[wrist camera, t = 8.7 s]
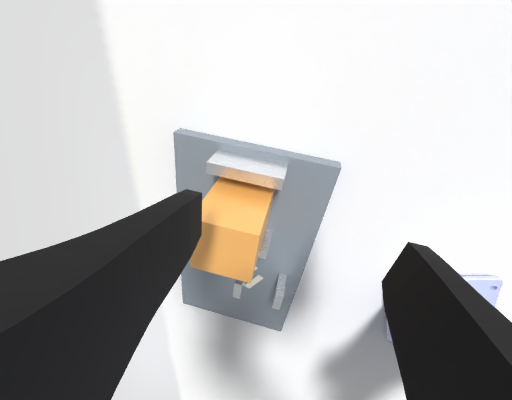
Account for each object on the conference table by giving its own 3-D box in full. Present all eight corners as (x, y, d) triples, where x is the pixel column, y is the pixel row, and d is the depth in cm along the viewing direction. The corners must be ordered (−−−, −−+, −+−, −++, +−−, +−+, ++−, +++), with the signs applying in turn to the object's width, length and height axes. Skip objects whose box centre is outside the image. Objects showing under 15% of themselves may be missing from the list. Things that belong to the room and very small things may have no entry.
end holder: (271, 238, 21) (265, 259, 19) (215, 224, 21) (204, 243, 19) (288, 163, 17) (284, 179, 15) (219, 148, 17) (206, 162, 15)
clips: (282, 288, 24) (279, 310, 22) (192, 263, 25) (181, 282, 23) (296, 244, 20) (294, 265, 19) (191, 217, 21) (178, 235, 19)
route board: (281, 323, 29) (280, 332, 28) (186, 295, 30) (182, 303, 29) (340, 162, 17) (341, 168, 16) (180, 128, 18) (173, 132, 17)
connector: (267, 224, 20) (250, 283, 15) (221, 213, 20) (190, 267, 16) (275, 183, 18) (259, 235, 13) (223, 171, 18) (188, 218, 13)
